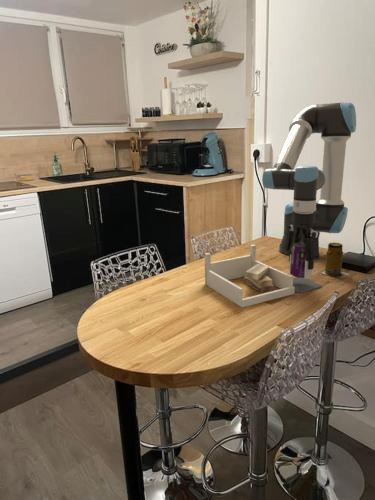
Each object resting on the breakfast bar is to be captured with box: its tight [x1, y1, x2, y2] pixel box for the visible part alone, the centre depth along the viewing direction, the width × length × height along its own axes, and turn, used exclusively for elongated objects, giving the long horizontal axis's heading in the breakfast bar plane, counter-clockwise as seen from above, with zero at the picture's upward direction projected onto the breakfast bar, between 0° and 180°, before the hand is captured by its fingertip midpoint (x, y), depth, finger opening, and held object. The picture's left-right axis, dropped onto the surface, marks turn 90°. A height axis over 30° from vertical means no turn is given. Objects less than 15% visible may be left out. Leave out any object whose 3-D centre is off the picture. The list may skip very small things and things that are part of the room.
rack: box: [204, 244, 295, 308], centre depth 137 cm, size 22×24×12 cm
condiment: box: [320, 242, 350, 279], centre depth 149 cm, size 7×8×12 cm
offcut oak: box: [249, 275, 272, 288], centre depth 140 cm, size 5×11×2 cm, turn 16°
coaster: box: [293, 277, 323, 294], centre depth 140 cm, size 11×11×1 cm
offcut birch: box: [244, 264, 270, 281], centre depth 139 cm, size 5×10×2 cm, turn 145°
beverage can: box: [289, 242, 311, 278], centre depth 137 cm, size 7×7×12 cm
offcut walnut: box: [242, 276, 275, 294], centre depth 141 cm, size 5×12×2 cm, turn 26°
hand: (300, 274), depth 139 cm, fingers closed on beverage can, 7 cm apart
